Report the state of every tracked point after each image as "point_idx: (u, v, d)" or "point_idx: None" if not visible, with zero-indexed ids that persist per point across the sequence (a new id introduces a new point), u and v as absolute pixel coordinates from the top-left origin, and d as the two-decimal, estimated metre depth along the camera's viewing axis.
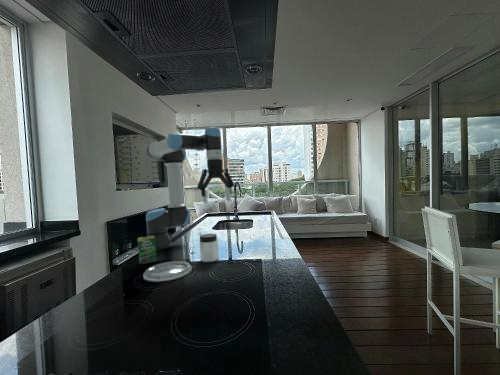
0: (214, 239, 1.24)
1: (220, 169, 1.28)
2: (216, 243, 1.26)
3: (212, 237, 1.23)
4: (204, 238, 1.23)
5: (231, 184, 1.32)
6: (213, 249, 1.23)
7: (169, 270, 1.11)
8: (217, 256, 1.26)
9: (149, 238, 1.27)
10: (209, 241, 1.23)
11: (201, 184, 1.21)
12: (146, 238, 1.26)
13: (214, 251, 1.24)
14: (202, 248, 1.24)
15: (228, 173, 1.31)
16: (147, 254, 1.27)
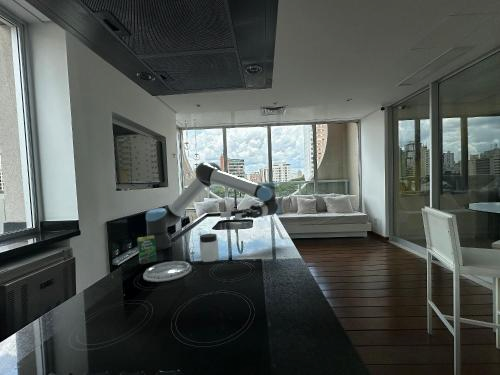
0: (214, 239, 1.24)
1: None
2: (216, 243, 1.26)
3: (212, 237, 1.23)
4: (204, 238, 1.23)
5: None
6: (213, 249, 1.23)
7: (169, 270, 1.11)
8: (217, 256, 1.26)
9: (149, 238, 1.27)
10: (209, 241, 1.23)
11: (252, 216, 1.33)
12: (146, 238, 1.26)
13: (214, 251, 1.24)
14: (202, 248, 1.24)
15: None
16: (147, 254, 1.27)
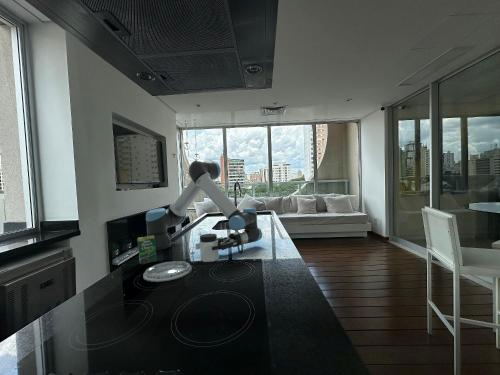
0: (214, 239, 1.24)
1: None
2: (216, 243, 1.26)
3: (212, 237, 1.23)
4: (204, 238, 1.23)
5: None
6: None
7: (169, 270, 1.11)
8: (217, 256, 1.26)
9: (149, 238, 1.27)
10: (209, 241, 1.23)
11: (224, 248, 1.24)
12: (146, 238, 1.26)
13: (214, 251, 1.24)
14: (202, 248, 1.23)
15: None
16: (147, 254, 1.27)
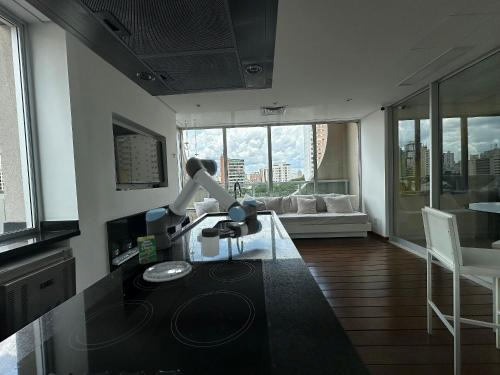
0: (215, 235, 1.19)
1: None
2: (217, 238, 1.21)
3: (213, 233, 1.19)
4: (204, 233, 1.19)
5: None
6: (213, 245, 1.19)
7: (169, 270, 1.11)
8: (217, 252, 1.22)
9: (149, 238, 1.27)
10: (209, 236, 1.18)
11: None
12: (146, 238, 1.26)
13: (214, 247, 1.20)
14: (202, 242, 1.20)
15: None
16: (147, 254, 1.27)
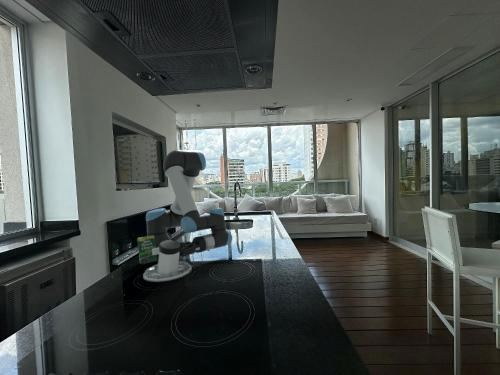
0: (174, 252, 1.03)
1: None
2: (176, 256, 1.05)
3: (171, 250, 1.02)
4: (162, 248, 1.02)
5: None
6: (170, 263, 1.03)
7: None
8: (175, 270, 1.06)
9: (149, 238, 1.27)
10: (167, 253, 1.02)
11: None
12: (146, 238, 1.26)
13: (171, 265, 1.04)
14: (158, 258, 1.04)
15: None
16: (147, 254, 1.27)
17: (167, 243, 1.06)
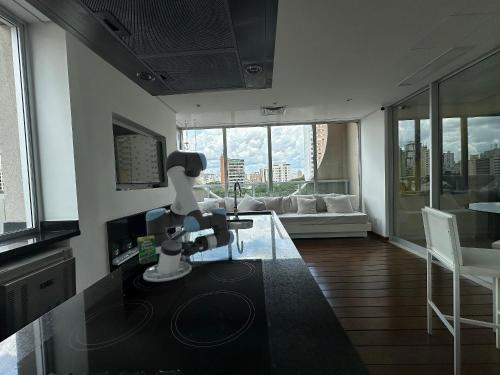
0: (175, 253, 1.03)
1: None
2: (178, 257, 1.04)
3: (173, 251, 1.01)
4: (164, 249, 1.01)
5: None
6: (171, 264, 1.03)
7: None
8: (175, 270, 1.06)
9: (149, 238, 1.27)
10: (168, 254, 1.01)
11: (191, 254, 1.09)
12: (146, 238, 1.26)
13: (172, 266, 1.04)
14: (160, 257, 1.04)
15: None
16: (147, 254, 1.27)
17: (169, 243, 1.05)
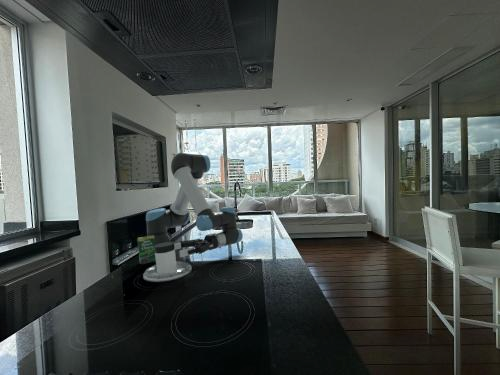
0: (168, 249, 1.05)
1: None
2: (172, 253, 1.06)
3: (165, 247, 1.04)
4: (156, 248, 1.04)
5: (182, 245, 1.25)
6: (167, 261, 1.04)
7: None
8: (174, 269, 1.06)
9: (149, 238, 1.27)
10: (161, 252, 1.04)
11: None
12: (146, 238, 1.26)
13: (169, 264, 1.05)
14: None
15: None
16: (147, 254, 1.27)
17: (161, 244, 1.08)
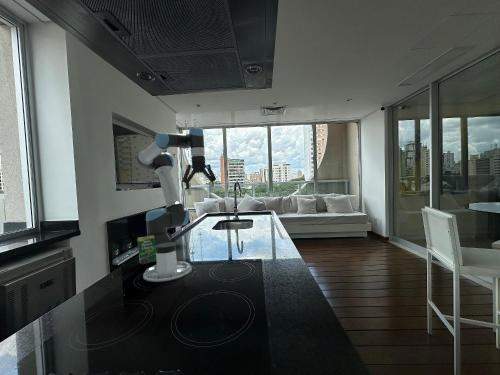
0: (170, 250, 1.05)
1: (203, 165, 1.43)
2: (173, 254, 1.06)
3: (167, 248, 1.04)
4: (157, 248, 1.04)
5: (213, 178, 1.48)
6: (168, 262, 1.04)
7: None
8: (174, 270, 1.06)
9: (149, 238, 1.27)
10: (163, 252, 1.04)
11: (185, 178, 1.36)
12: (146, 238, 1.26)
13: (169, 264, 1.05)
14: None
15: (210, 168, 1.46)
16: (147, 254, 1.27)
17: (163, 244, 1.08)
